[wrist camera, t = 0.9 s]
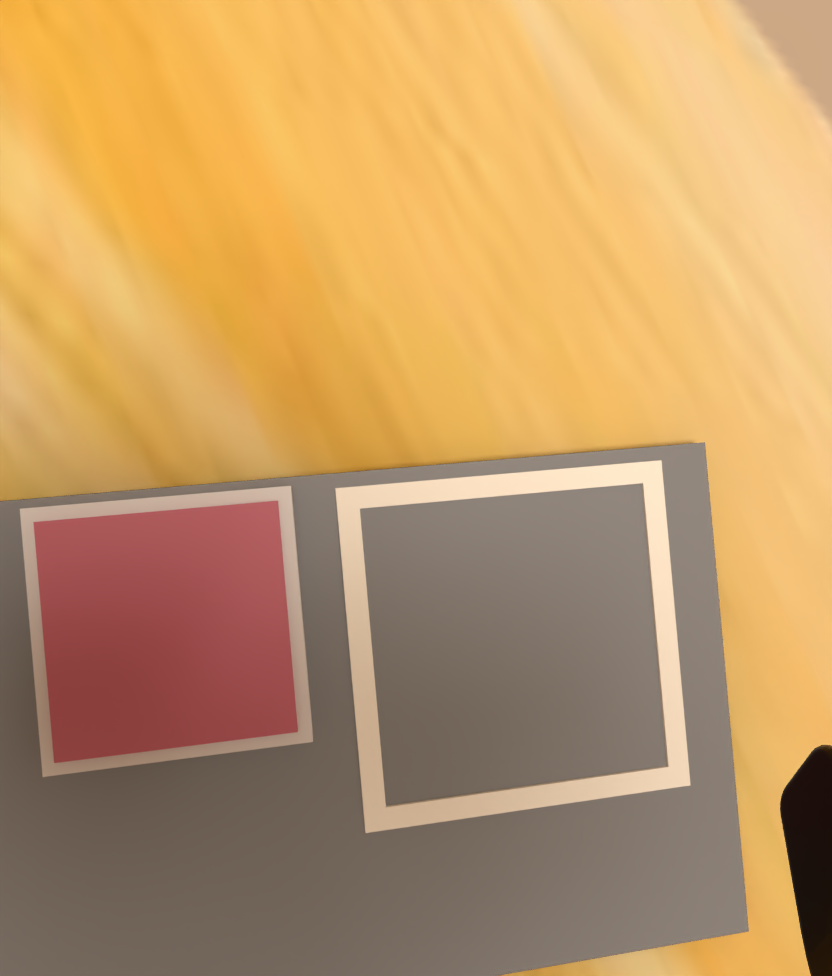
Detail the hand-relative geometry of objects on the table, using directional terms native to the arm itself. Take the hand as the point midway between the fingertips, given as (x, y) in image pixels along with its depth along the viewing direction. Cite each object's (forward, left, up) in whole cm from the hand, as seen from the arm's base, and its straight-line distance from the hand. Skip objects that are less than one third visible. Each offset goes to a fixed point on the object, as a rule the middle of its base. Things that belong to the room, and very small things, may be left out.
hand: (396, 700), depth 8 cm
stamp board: (-4, -1, -14) cm, 15 cm away
